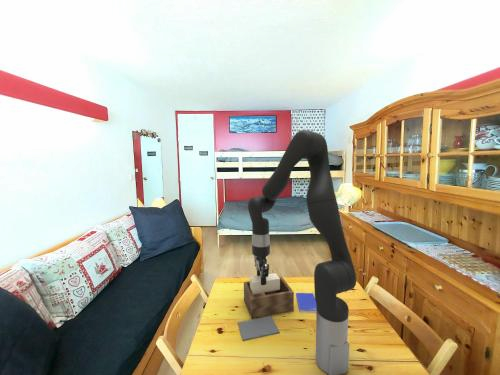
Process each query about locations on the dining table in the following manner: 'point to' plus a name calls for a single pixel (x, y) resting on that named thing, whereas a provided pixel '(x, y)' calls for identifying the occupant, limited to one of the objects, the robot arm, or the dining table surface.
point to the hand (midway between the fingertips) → (261, 281)
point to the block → (271, 285)
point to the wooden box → (269, 300)
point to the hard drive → (306, 302)
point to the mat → (257, 328)
